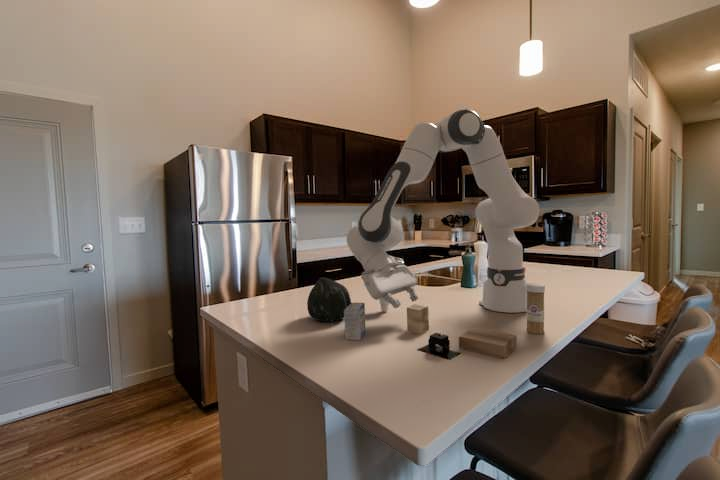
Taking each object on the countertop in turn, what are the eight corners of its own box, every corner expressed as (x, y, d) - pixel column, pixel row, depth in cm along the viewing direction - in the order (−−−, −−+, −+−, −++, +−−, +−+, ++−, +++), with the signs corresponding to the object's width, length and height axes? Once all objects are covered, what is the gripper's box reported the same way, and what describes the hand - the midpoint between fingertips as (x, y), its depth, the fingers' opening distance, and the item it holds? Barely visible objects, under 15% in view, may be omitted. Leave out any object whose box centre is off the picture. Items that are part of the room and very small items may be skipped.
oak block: (415, 326, 105) (415, 304, 104) (428, 329, 102) (428, 306, 101) (407, 331, 102) (406, 307, 101) (420, 334, 99) (420, 309, 98)
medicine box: (360, 340, 95) (359, 309, 94) (344, 340, 96) (343, 309, 95) (365, 331, 103) (364, 302, 102) (351, 330, 104) (350, 302, 103)
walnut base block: (474, 337, 94) (474, 326, 94) (516, 346, 87) (516, 335, 87) (459, 348, 87) (459, 336, 87) (503, 358, 80) (503, 346, 80)
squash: (360, 297, 123) (331, 266, 122) (356, 310, 108) (323, 275, 107) (332, 322, 125) (303, 292, 124) (324, 339, 110) (291, 305, 110)
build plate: (469, 356, 84) (469, 337, 83) (453, 365, 79) (453, 346, 78) (426, 343, 93) (426, 327, 92) (409, 351, 88) (409, 334, 87)
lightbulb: (375, 309, 126) (375, 279, 125) (392, 309, 125) (392, 278, 125) (376, 314, 120) (375, 282, 119) (393, 313, 119) (392, 282, 119)
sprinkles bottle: (526, 333, 96) (526, 285, 95) (526, 328, 100) (526, 282, 99) (545, 335, 94) (545, 286, 93) (543, 329, 98) (544, 282, 97)
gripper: (364, 265, 100) (392, 304, 94) (404, 257, 115) (431, 290, 109) (353, 279, 103) (380, 317, 98) (394, 270, 119) (419, 302, 113)
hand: (407, 303), depth 104 cm, fingers open, 8 cm apart
